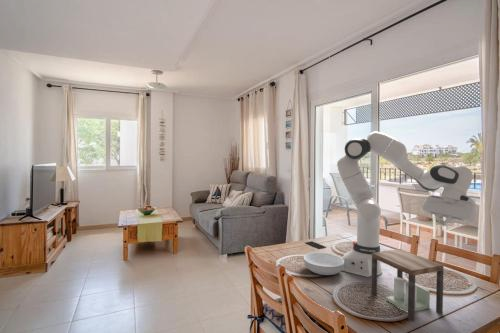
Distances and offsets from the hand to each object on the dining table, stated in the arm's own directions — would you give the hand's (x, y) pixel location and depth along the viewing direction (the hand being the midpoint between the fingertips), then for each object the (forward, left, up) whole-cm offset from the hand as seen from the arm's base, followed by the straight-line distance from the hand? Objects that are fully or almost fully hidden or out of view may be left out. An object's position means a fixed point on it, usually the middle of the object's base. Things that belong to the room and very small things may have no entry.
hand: (441, 224), depth 124 cm
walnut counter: (-15, -21, -30) cm, 40 cm away
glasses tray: (-14, -21, -30) cm, 39 cm away
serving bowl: (-52, -3, -30) cm, 61 cm away
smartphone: (-66, +39, -31) cm, 83 cm away
